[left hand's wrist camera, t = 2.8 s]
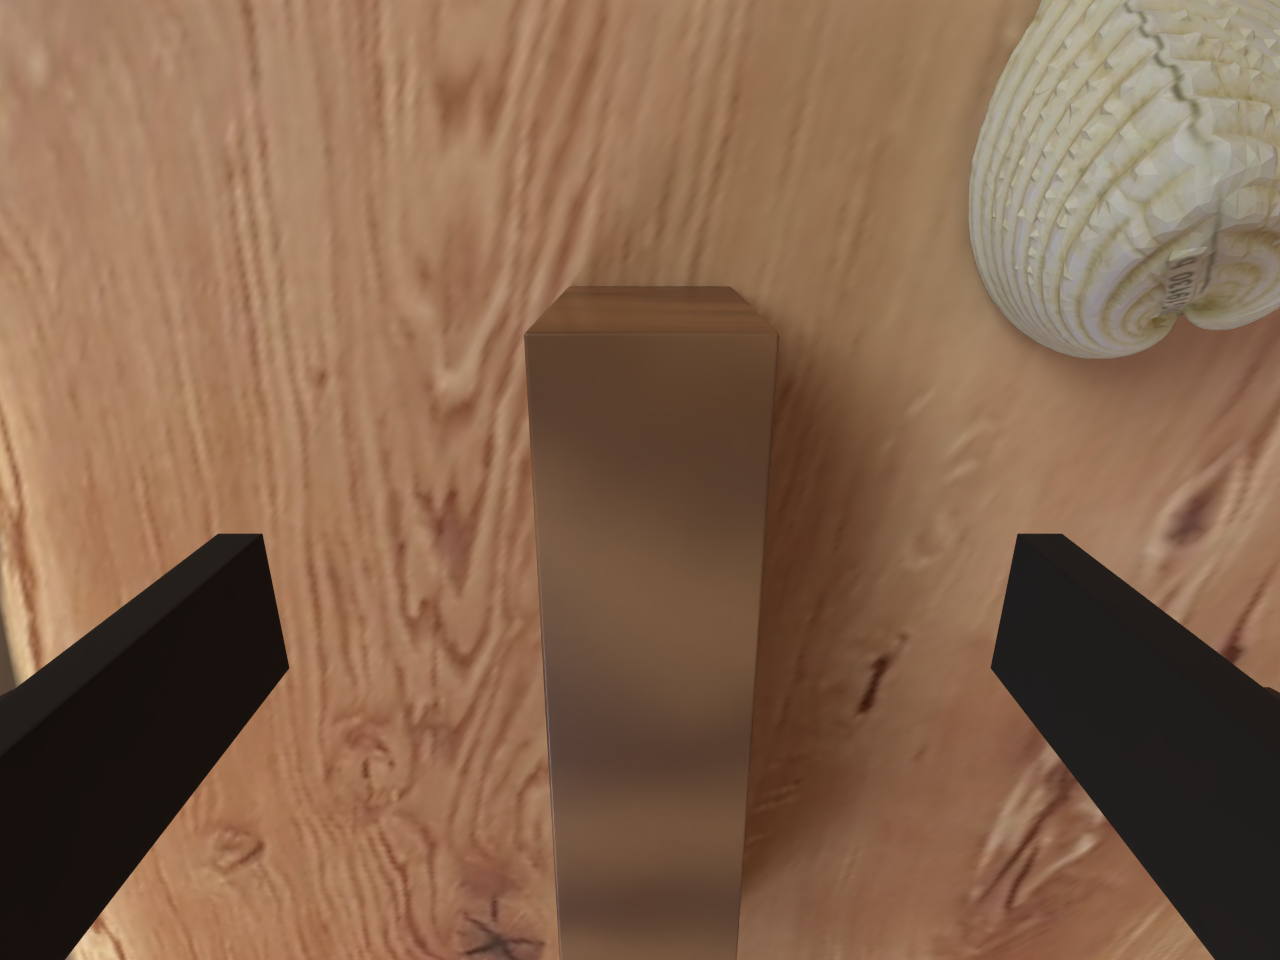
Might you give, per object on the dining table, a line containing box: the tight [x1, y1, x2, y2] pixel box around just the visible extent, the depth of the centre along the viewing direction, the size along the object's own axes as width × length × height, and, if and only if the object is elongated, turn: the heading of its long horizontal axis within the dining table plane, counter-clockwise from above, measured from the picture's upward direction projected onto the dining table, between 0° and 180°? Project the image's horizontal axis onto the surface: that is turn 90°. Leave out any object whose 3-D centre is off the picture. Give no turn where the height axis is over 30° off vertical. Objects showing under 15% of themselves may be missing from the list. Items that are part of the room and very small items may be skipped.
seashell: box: [969, 0, 1280, 359], centre depth 17 cm, size 8×8×8 cm
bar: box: [524, 287, 779, 960], centre depth 22 cm, size 26×5×8 cm, turn 0°
